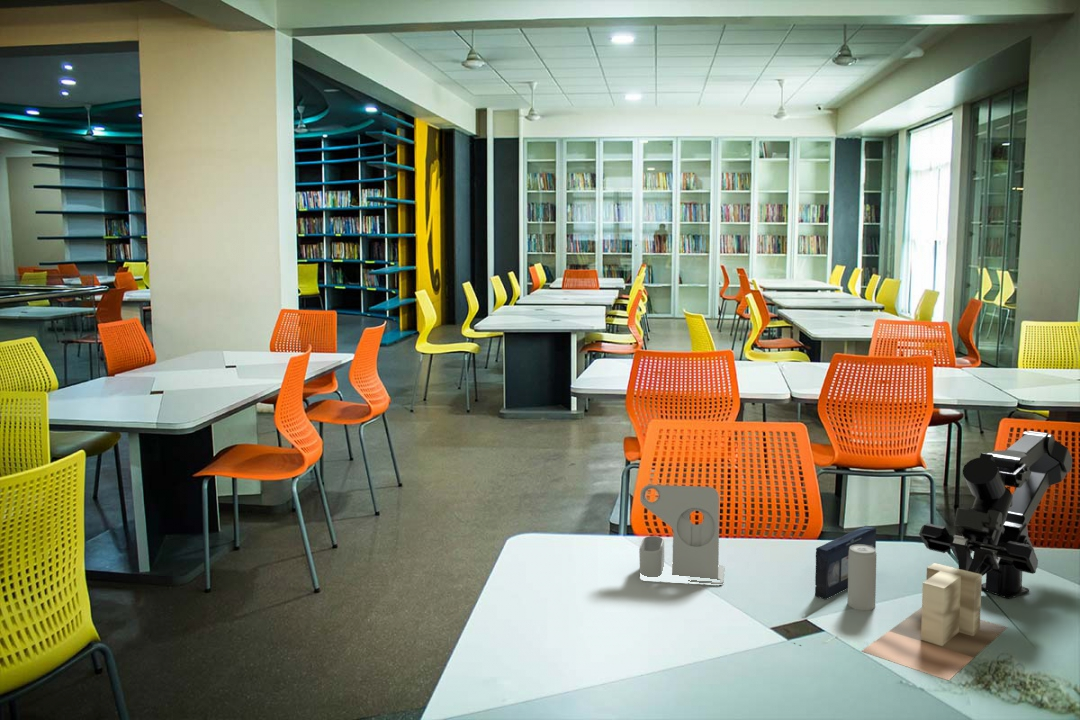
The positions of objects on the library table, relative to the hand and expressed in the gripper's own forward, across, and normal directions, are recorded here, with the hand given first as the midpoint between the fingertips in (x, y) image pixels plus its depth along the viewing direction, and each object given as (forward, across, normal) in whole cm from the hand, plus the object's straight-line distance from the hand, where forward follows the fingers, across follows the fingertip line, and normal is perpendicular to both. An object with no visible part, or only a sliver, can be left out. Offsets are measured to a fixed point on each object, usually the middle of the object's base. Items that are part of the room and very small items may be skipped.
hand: (962, 589), depth 153 cm
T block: (+9, 0, -2) cm, 9 cm away
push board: (+12, 0, -3) cm, 13 cm away
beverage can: (+9, -16, +1) cm, 18 cm away
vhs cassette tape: (+3, -23, +7) cm, 25 cm away
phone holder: (+15, -51, -5) cm, 53 cm away
